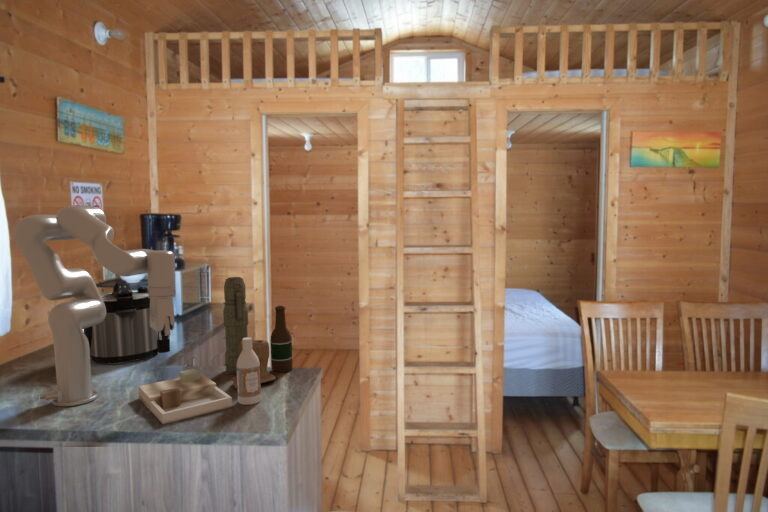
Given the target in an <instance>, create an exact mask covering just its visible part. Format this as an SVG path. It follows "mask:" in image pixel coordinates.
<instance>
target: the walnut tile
mask: <svg viewBox="0 0 768 512" xmlns="http://www.w3.org/2000/svg"><path fill="white" fill-rule="evenodd" d="M160 395H161V408H162V409H163V410H165V409H169V408H173V407H177V406H181V399H180V389H179V388H173V389H169V390H164V391H160Z"/></svg>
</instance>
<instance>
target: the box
mask: <svg viewBox="0 0 768 512" xmlns="http://www.w3.org/2000/svg"><path fill="white" fill-rule="evenodd" d="M213 391H214V395H211V396H207V397H203V398H198V399H194V400H190V401H185V402H181V406H177V407H173V408H169V409H165V410H163V409H162V408H161V407H160V406H159V405H158V404H157V403H156V402H155V401H150V405H151V411H150V412H151V413H152V415H153V416H155V418H157V419H158V420H157V421H159V422H160V423H161V424H162V425H166V424H171V423H176V422H178V421H182V420H186V419H190V418H191V419H192V418H194V417H198V416H202V415H206V414H209V413H214V412H218V411H222V410H225V409H230V408H233V396H231V395H229V394H228V393H226V392H225V391H223V390H222V389H221V388H219V387H218V386H216V387H213Z"/></svg>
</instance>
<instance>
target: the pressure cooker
mask: <svg viewBox="0 0 768 512" xmlns="http://www.w3.org/2000/svg"><path fill="white" fill-rule="evenodd" d="M112 288H113V289H112V290H113V291H112V292H111V293H107V294H106V293H104V294H100V295H101V297H102V299H103V301H104V304H105V307H106V317H105V319H104V320H103V321H102V322H101V323H99V324H97V325H94V326H91V327H87V328H84V329H83V332H84V334H85V335H86V337H87V339H88V341H89V348H90V360H92V361H93V362H94V363H97V364H107V365H108V364H109V365H113V364H121V363H122V364H123V363H128V362H133V361H141V360H144V359H147V358H150V357H152V356H155V355H156V354H159V352H157V331H155V330H154V329H152V328H151V327H150V325H149V316H150V298H148V287H146V286H139V287H138V288H137V290H136V291H132V290H131V288H130V286H129V284H128V282H127V281H126V280H119V281H116V282H115V285H113V287H112Z"/></svg>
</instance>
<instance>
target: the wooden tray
mask: <svg viewBox="0 0 768 512" xmlns="http://www.w3.org/2000/svg"><path fill="white" fill-rule="evenodd" d="M213 387H217V383H216V382H215V381H213V380H211V378H209V377H208V376H206V375H204V374H203V373H201V372H200V380H195V381H191V382H186V383H185V382H183V381H182V380H181V379H180V377H176V378H171V379H166V380H162V381H157V382H153V383H147V384H142V385H138V387H137V388H138V399H139V400H140V402H142V404H143V405H144V406H145V407H146V408H147V409H148V411H150V412H151V405H150V401H155V402H156V403H157V404H158V405H159V406H160V407H161V395H160V391H164V390H169V389H173V388H179V389H180V399H181V402H185V401H190V400H194V399H198V398H203V397H207V396H211V395H214V391H213Z"/></svg>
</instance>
